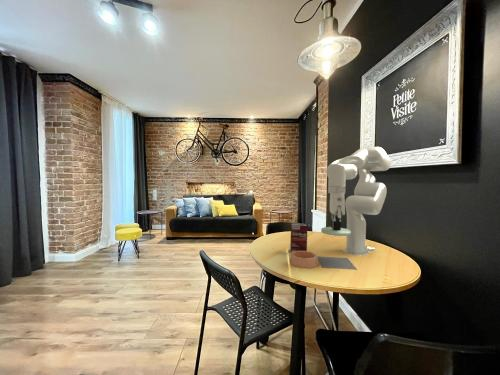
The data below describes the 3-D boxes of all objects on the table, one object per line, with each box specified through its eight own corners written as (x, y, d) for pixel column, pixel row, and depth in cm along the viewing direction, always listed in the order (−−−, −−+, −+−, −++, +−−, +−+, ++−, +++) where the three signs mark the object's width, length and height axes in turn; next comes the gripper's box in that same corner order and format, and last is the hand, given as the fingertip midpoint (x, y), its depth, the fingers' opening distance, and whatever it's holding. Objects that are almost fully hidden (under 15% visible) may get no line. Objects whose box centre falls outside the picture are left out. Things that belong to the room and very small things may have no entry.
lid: (345, 229, 115) (346, 217, 114) (354, 236, 102) (355, 222, 101) (319, 229, 116) (319, 216, 116) (324, 235, 103) (324, 221, 103)
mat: (347, 259, 116) (347, 257, 116) (357, 271, 101) (357, 269, 101) (316, 258, 118) (316, 256, 118) (322, 269, 103) (322, 267, 103)
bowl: (314, 261, 114) (315, 251, 113) (319, 270, 102) (319, 259, 101) (290, 260, 115) (290, 250, 115) (291, 269, 103) (291, 258, 103)
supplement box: (290, 254, 123) (291, 225, 123) (290, 251, 128) (290, 223, 128) (307, 255, 122) (307, 225, 122) (306, 252, 127) (306, 223, 127)
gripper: (350, 191, 100) (349, 233, 100) (340, 189, 116) (339, 225, 116) (332, 191, 101) (331, 233, 101) (324, 189, 117) (324, 225, 117)
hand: (335, 228), depth 109 cm, fingers closed on lid, 2 cm apart
